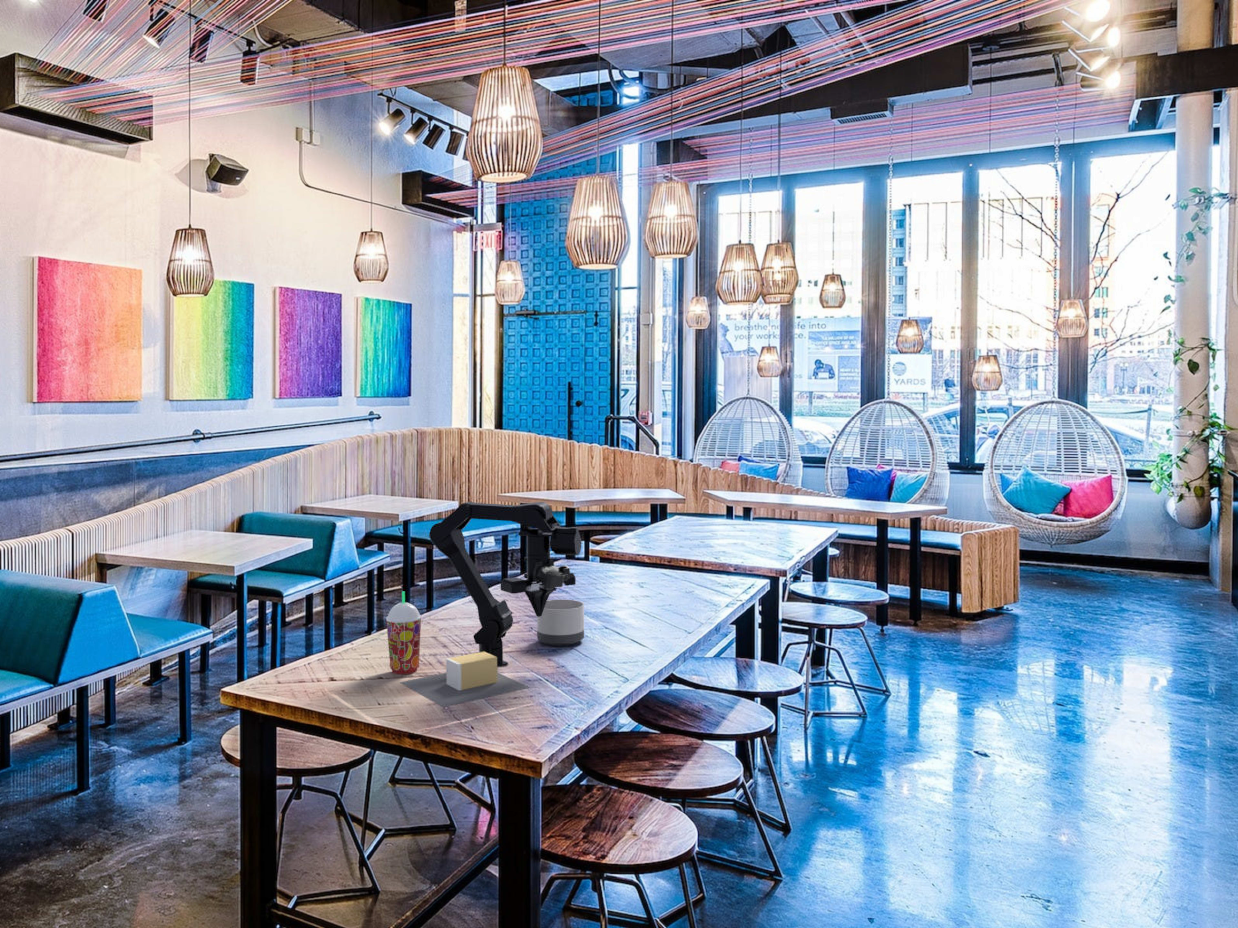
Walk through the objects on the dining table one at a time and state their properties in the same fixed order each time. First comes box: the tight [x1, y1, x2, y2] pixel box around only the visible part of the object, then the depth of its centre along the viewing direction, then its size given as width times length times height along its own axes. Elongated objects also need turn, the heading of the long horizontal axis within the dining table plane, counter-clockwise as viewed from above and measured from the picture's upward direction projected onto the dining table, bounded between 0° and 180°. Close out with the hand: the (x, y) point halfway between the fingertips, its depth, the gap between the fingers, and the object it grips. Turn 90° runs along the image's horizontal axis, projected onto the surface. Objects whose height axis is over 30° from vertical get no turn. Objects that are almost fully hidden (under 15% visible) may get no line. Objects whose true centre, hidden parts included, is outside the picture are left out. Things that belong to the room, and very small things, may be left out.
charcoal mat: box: [399, 671, 531, 708], centre depth 215 cm, size 22×22×1 cm
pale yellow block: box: [445, 651, 498, 690], centre depth 216 cm, size 6×6×10 cm
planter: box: [536, 599, 585, 647], centre depth 254 cm, size 13×13×10 cm
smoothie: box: [385, 591, 422, 675], centre depth 226 cm, size 8×8×20 cm
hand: (538, 616), depth 229 cm, fingers closed
